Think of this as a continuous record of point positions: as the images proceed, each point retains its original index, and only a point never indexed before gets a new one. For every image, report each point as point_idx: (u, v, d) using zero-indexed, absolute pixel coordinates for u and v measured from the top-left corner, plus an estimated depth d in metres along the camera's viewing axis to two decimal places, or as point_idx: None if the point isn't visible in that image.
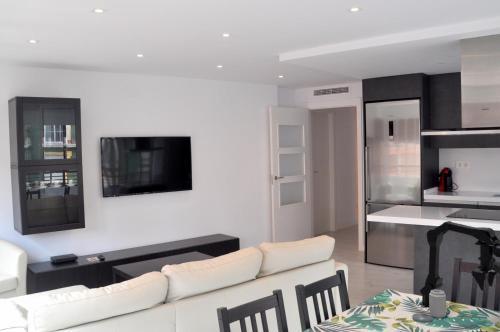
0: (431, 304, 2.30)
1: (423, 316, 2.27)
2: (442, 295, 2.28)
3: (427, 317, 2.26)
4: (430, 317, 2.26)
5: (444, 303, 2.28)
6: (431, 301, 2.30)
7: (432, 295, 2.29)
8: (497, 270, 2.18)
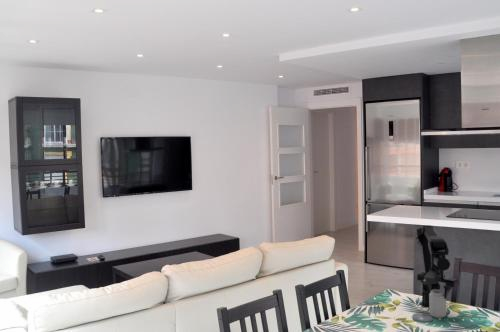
0: (431, 304, 2.30)
1: (423, 316, 2.27)
2: (442, 295, 2.28)
3: (427, 317, 2.26)
4: (430, 317, 2.26)
5: (444, 303, 2.28)
6: (431, 301, 2.30)
7: (432, 295, 2.29)
8: None
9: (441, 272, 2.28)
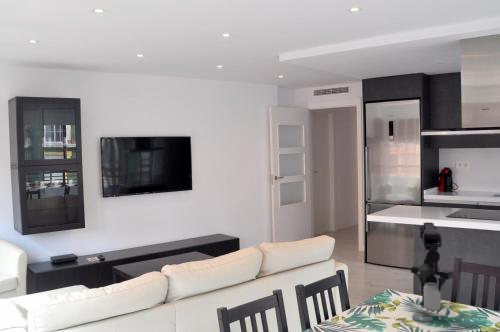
0: (425, 297, 2.28)
1: (423, 316, 2.27)
2: (436, 288, 2.26)
3: (427, 317, 2.26)
4: (430, 317, 2.26)
5: (438, 296, 2.26)
6: (425, 294, 2.28)
7: (426, 288, 2.27)
8: None
9: (435, 264, 2.26)
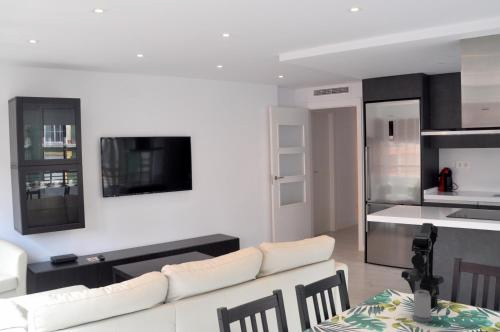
0: (416, 305, 2.26)
1: None
2: (427, 295, 2.24)
3: None
4: (430, 317, 2.26)
5: (429, 303, 2.24)
6: (416, 301, 2.26)
7: (417, 295, 2.25)
8: None
9: (425, 269, 2.24)
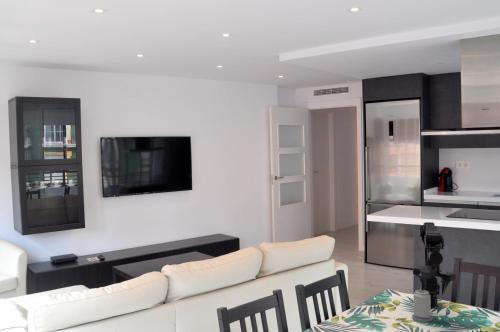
0: (415, 305, 2.26)
1: None
2: (426, 295, 2.24)
3: None
4: (430, 317, 2.26)
5: (428, 303, 2.24)
6: (415, 301, 2.26)
7: (416, 295, 2.25)
8: None
9: (437, 266, 2.24)
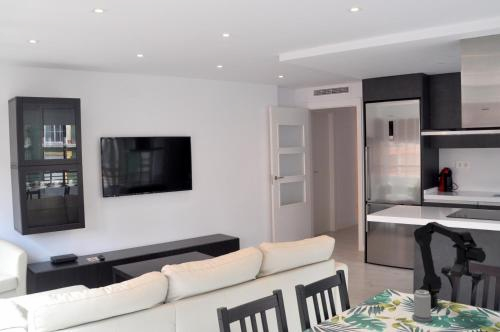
0: (416, 305, 2.26)
1: None
2: (427, 295, 2.24)
3: None
4: (430, 317, 2.26)
5: (429, 303, 2.24)
6: (416, 301, 2.26)
7: (417, 295, 2.25)
8: None
9: (467, 265, 2.23)
